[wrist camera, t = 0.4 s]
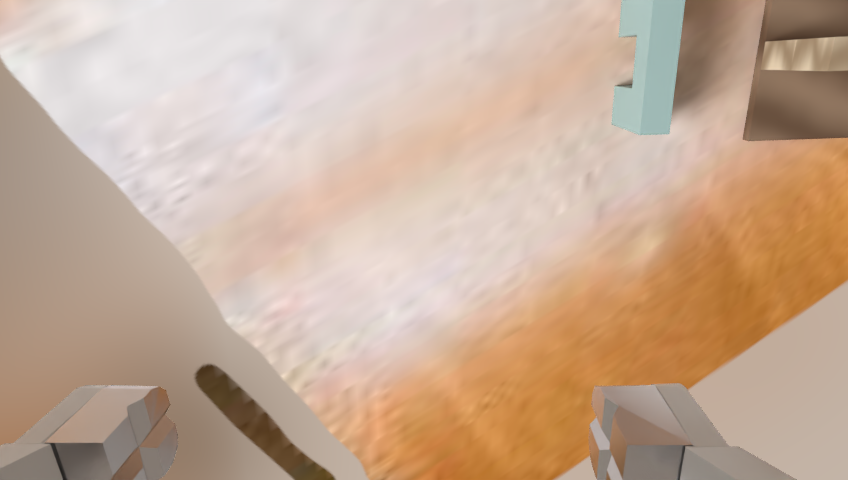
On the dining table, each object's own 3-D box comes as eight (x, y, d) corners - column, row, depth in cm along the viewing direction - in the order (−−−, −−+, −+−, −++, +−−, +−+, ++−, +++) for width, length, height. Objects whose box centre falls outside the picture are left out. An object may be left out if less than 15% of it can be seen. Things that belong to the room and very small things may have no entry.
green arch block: (622, -6, 47) (655, -19, 39) (649, -8, 47) (687, -21, 39) (611, 124, 51) (639, 135, 43) (636, 123, 51) (669, 134, 43)
